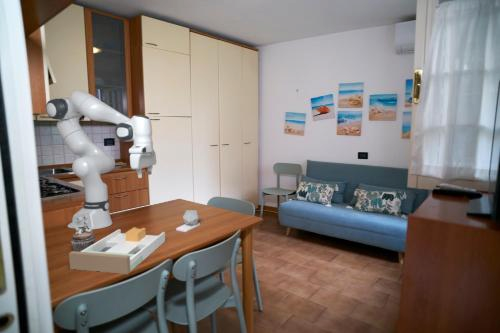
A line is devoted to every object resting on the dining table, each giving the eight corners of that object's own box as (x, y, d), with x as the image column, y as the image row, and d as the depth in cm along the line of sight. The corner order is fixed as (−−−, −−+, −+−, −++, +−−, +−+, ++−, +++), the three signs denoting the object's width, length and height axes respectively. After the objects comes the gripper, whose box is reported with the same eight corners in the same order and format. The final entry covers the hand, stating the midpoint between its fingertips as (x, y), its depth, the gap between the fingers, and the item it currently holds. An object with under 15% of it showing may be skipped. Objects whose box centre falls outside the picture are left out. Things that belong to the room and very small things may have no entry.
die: (191, 229, 171) (201, 213, 173) (177, 220, 172) (188, 205, 174) (193, 230, 179) (203, 214, 181) (180, 221, 180) (190, 206, 182)
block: (126, 240, 145) (125, 232, 145) (134, 235, 153) (134, 227, 152) (138, 241, 144) (137, 233, 144) (146, 236, 152) (145, 228, 151)
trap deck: (70, 269, 123) (68, 253, 122) (119, 237, 156) (118, 225, 155) (127, 274, 119) (126, 257, 118) (165, 241, 152) (164, 228, 151)
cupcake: (69, 248, 142) (67, 227, 141) (91, 243, 149) (90, 222, 148) (75, 255, 136) (74, 232, 134) (99, 248, 142) (97, 227, 141)
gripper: (147, 146, 166) (148, 172, 168) (126, 150, 146) (128, 179, 148) (158, 146, 165) (160, 172, 167) (139, 149, 145) (141, 179, 147)
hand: (145, 176), depth 157 cm, fingers open, 8 cm apart
